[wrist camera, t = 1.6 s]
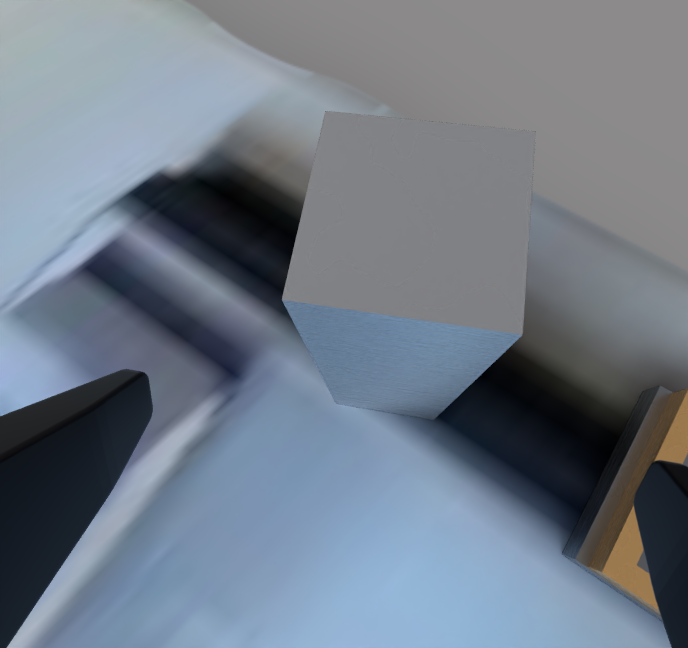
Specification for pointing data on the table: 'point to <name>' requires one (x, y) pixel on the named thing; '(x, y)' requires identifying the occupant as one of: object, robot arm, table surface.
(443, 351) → the gray block
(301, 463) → the table surface
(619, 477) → the rail
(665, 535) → the robot arm
